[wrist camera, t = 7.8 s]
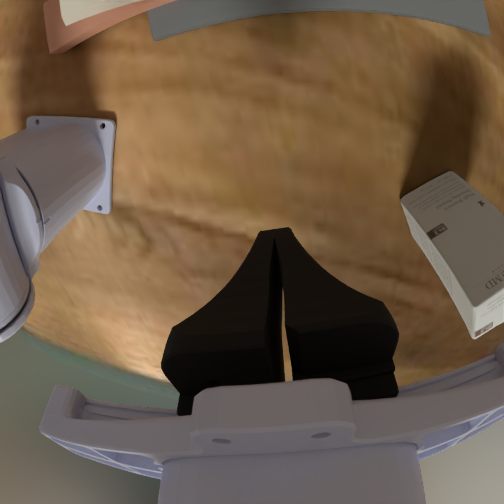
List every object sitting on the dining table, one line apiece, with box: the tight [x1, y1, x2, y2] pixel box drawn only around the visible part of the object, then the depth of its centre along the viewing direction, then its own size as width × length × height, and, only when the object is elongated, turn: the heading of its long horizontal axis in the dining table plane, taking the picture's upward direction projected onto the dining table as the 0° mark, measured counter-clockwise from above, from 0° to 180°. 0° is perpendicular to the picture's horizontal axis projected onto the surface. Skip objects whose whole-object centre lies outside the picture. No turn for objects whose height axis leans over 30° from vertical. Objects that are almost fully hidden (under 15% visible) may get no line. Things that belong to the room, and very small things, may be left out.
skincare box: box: [400, 171, 504, 339], centre depth 16 cm, size 6×4×12 cm
